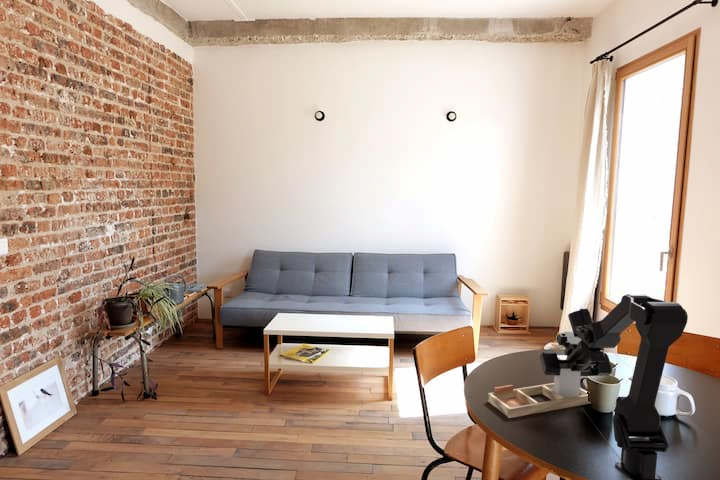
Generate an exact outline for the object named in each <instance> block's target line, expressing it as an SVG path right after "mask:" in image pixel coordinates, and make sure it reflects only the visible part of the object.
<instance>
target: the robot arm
mask: <svg viewBox="0 0 720 480" xmlns="http://www.w3.org/2000/svg"><path fill="white" fill-rule="evenodd" d="M567 317H568V321H569V324H570V327H571V331H564V332H559V333H558V334H557V336H556V339H555V340H556V343H557V344H558V346H563V347H564V351H563V353H564V355H567V358H566V360H558V357H557V355H558V353H556V352H555V351H543V352H541V354H540V355H539V359H540V363H541V367H542V370H543V374H545V375H546V376H551V377H555V376H560V370H561V369H571V371H581V375H580V377H588V376H600V377H601V376H602V377H603V376H607V377H608V376H610V375H611V374H612V373H613V366H612V363H611V361H610V357H609V355H608V354H607V352H606V353H605V352H604V351H605V349H615V348H616V347H617V345H618V344H620V342H621V340H622V338H621V334H622V333H623V332H624V331H626V330H627V329H628V328H629V327H630V326H631V325H632V324H633V323H635V324H634V325H635V328H636V330H637V332H638V334H639V336H640V342H639V348H638V352H637V357H636V361H635V366H634V369H633V372H632V373H633V374H632V379H631V383H630V387H629V391H628V394H627V396H617V398H616V401H615V407H614V409H613V410H612V411H613V413H614V415H613V416H612V425H613V434H614V441H615V442H616V446H617V447H619V448H620V449H621V451H620V452H621V453H620V461H617V462H615V463H614V465H615V467H617V468H618V469H619V470H620V471H621V472H622V473H624V474H625V476H627V477H628V478H629V479H630V480H662V476H660V475H659V474H658V473H657V461H658V453H667V451H668V449H669V443H668V441H667V437H666V436H665V433H664V429H663V428H662V426H661V416H660V413H659V412H658V409H657V408H656V401H657V396H658V392H659V389H660V384H661V381H662V376H663V373H664V368H665V365H666V360H667V356H668V352H669V348H670V347H671V346H672V345H673V344H674V343H675V342H676V341H678V340H679V339H680V338H681V337H682V336H683V333H684V332H685V328H686V327H687V323H688V319H689V316H688V312H687V310H686V309H685V308H684V307H683V306H682V305H681V304H680V303H678V302H676V301H671V302H670V301H666V300H663V299H658V298H655V297H652V296H649V295H647V294H643V293H641V294H638V293H637V294H635V293H633V294H632V293H631V294H629V293H628V294H625V295H623V296H622V297H621V300H620V301H619V302H618V303H617V305H616V306H614V308H613V309H611V310H610V311H609V312H608V313H607V314H606V315H605V316H604V317H603V318H602V319H600V320H598V321H593V318H592V315H591V313H590V311H589V308H580V309H579V310H575V311H573V312H570V313H568V315H567ZM657 452H658V453H657Z"/></svg>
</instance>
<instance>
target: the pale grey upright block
mask: <svg viewBox="0 0 720 480" xmlns="http://www.w3.org/2000/svg"><path fill="white" fill-rule="evenodd" d="M557 357H558V360H566V358H567V355H565V354H564V355H560V354H557ZM580 375H581V371H571V369H561V370H560V376H553V377H554V378H553V379H554V380H553V383H554V392H556V393H558V394H559V395H561V396H563V397H564V398H569V397H575V396H579V389H580V388H581V387H580V385H581V376H580Z"/></svg>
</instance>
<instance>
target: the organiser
mask: <svg viewBox="0 0 720 480" xmlns="http://www.w3.org/2000/svg"><path fill="white" fill-rule="evenodd" d="M587 392H588V391H587V390H585V389H583V388H581V387H580V389H579V396H575V397H569V398H564V397H563V396H561V395H559V394H558V393H556V392H554V382H552V383H544V384H538V385H531V386H525V387H524V386H523V387H519V388H514V385H513V384H507V385H502V386H501V385H500V386H494V388H493V392H488V393H487V402H488V403H489V404H491V405H492V406H493V407H494V408H495V409H497V410H498V411H500V412H501V414H503V415H505V416H506V417H507V418H508V419H511V418H517V417H523V416H529V415H533V414H539V413H545V412H550V411H555V410H562V409H567V408H574V407H578V406H585V405H588V404H592V403H591V402H589V401H588V394H587ZM537 395H543V396H545V397H547V398H548V399H550V400H546V401H541V402H538V401H537V400H536V399H534V398H532V397H531V396H537Z"/></svg>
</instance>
